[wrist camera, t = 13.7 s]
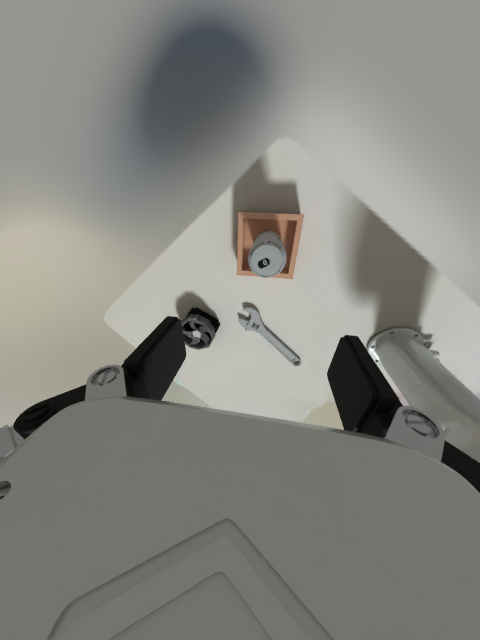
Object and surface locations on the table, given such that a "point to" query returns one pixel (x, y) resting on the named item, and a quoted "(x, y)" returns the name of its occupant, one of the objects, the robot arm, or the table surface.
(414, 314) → the table surface
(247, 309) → the adjustable wrench
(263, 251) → the energy drink can
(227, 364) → the table surface
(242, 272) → the bin
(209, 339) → the cpu cooler
